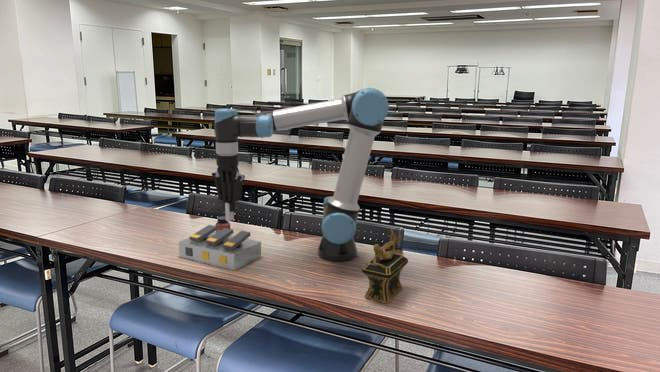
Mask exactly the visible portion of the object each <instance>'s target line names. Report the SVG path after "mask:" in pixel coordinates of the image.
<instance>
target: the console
mask: <svg viewBox="0 0 660 372" xmlns="http://www.w3.org/2000/svg"><path fill="white" fill-rule="evenodd" d="M216 233H217V232H216V231H214V232H213V233H211V234H210V235H208V236H207V237H205V238H204V239H202V240H200V241H199V242H196V241H191V240H190V238H189V237H187V238H185V239H183V240H180V241H178V255H179V258H183V259H187V260H190V261H195V262H197V263H198V262H199V263H203V264H207V265H210V266H214V267H219V268H221V269H227V270H231V271H233V272H234V271H237V270H238V269H240V268H242V267H244V266H246V265H248V264H249V263H252V262H253V261H256V260H258V259H259V258H261V257H262V241H261V240H260V241H259V240H255V239H250V238H247V239H246V240H245V241H243V242H242V243H241V244H240V245H238V246H237V247H236V248H235V249H233V250H228V249H224V248H223V245H224V244H225V243H226V242H227V241H229V240H230V239H231V238H233V237H234V236H235V235H233V234H231V235H230V236H228V237H227V238H225V239H224V240H223V241H221V242H220V243H218V244H217V245H215V246H214V245H209V244H206V240H207V239H209V238H210V237H212V236H213V235H215V234H216Z"/></svg>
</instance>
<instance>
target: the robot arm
mask: <svg viewBox="0 0 660 372" xmlns="http://www.w3.org/2000/svg"><path fill="white" fill-rule="evenodd" d="M388 101H389V100H388V98H387V97H386V95H385V94H384V92H382V91H381V90H379V89H378V88H377V89H376V88H372V87H368V88H367V87H366V88H363V89H360V90H358V91H355V92H351V93H349V94H343V95H342V96H341V98H337V99H330V100H325V101H319V102H313V103H309V104H303V105H297V106H292V107H286V108H281V109H274V110H270V111H261V112H257V113H256V114H238V111H237V109H236V108H217V109H216V110H215V111H214V133H215V153H216V158H215V160H216V163H215V164H216V166H217V168H216V171H215V172H212V173H211V176H212V178H213V180H214V183H215V189H216V193H217V198H218V200H219V201H222V202H223V211H224V213H225V217H226V221H228V222H231V221H233V220H235V213H234V212H235V210H236V205H235V203H236V202H239V201H240V200H241V199H240V198H241V195H242V194H241V193H242V187H243V181H244V180H245V178H246V176H245V175H244V174H241V172H240V170H239V164H240V163H239V154H238V153H239V138H244V137H245V138H261V139H263V138H271V137H272V136H273V134H274V132H278V131H284V130H289V129H290V130H291V129H294V128H301V127H307V126H313V125H318V124H319V125H320V124H325V123H330V122H337V121H343V120H346V122H347V124H346V125H347V127H348V128H349V133H348V137H347V141H346V145H345V150H344V153H343V156H342V157H343V158H342V160H341V164H340V169H339V173H338V176H337V177H338V178H337V181H336V185H335V189H334V192H333V196H331V195H330V196H326V197H324V199H323V204H322V205H323V210H322V211H323V213H322V221H321V226H320V227H321V232H322V237H321V240H320V243H319V245H318V248H317V249H318V250H317V255H318V257H320V258H321V259H322V260H326V261H331V262H347V261H346V260H348V261H351V260H353V258H354V259H356V257H357V256H358V248H357V245H356V241H355V239H354V236H355V234H356V231H357V221H358V217H359V213H360V209H361V207H360V205H359V204H358V200H359V196H360V192H361V189H362V186H363V181H364V178H365V175H366V172H367V171H366V170H367V167H368V163H369V159H370V156H371V152H372V148H373V145H374V141H375V137H376V136H378V135H379V134H381V133H382V132H381V131H382V128H383V125H384V122H385V121H384V120H385V118H386V116H388V113H389V102H388Z"/></svg>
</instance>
